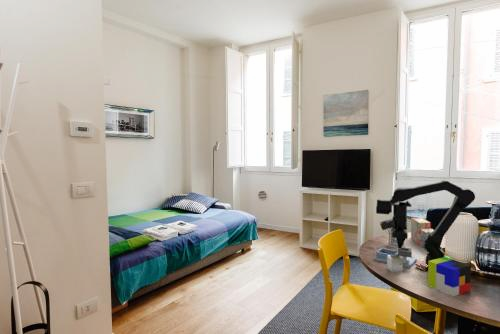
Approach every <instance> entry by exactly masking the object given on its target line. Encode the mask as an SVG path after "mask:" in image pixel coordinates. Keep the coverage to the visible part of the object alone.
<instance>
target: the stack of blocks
mask: <svg viewBox="0 0 500 334" xmlns="http://www.w3.org/2000/svg"><path fill="white" fill-rule="evenodd" d="M410 220H411V221H410V223H411V224H410V231H411V232H410V237H411V239H412V240H413V241H414V242H416V243H417V244H418V245H420V246H421V247H422V248H424V244H423V241H424V240H423V237H425V236H426V234H427V232H428V231H429V232H430V233H432V232H433V231H434V230H435V229H433V228H431V227H432V223H431V222H430V221H428V220H427V219H425V218H423V217H410ZM424 249H425V248H424Z"/></svg>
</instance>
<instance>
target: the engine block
mask: <svg viewBox="0 0 500 334" xmlns="http://www.w3.org/2000/svg"><path fill="white" fill-rule="evenodd" d="M403 267H404V266H403V258H401V257H400V256H399V255H397V254H390V256H387V263H386V269H387V270H388V271H390V272H391V273H400V272H401V273H403V271H404V270H403V269H404V268H403Z"/></svg>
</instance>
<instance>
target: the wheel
mask: <svg viewBox="0 0 500 334" xmlns="http://www.w3.org/2000/svg"><path fill="white" fill-rule="evenodd" d="M397 251H398V255H399V256H404V257H412V254H413V253H412V252H413V251H412V248H411V247H405V248H404V247H401V248H397ZM412 258H413V257H412Z"/></svg>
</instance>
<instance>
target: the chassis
mask: <svg viewBox="0 0 500 334" xmlns="http://www.w3.org/2000/svg"><path fill="white" fill-rule="evenodd" d="M375 254H376V256H375V257H374V260H375V261H378V262H383V263H386V264H387V256H390V254H397V255H398V250H395V249H391V248H390V249H389V248H385V247H381V248H380V249H378V250H377V251H376V252H375ZM400 257H401V258H403V267H405V268H407V269H408V268H409V269H411V268H412V267H414V265H415V263H416V262H417V261H418V260H417V258H416V257H404V256H400Z"/></svg>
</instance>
